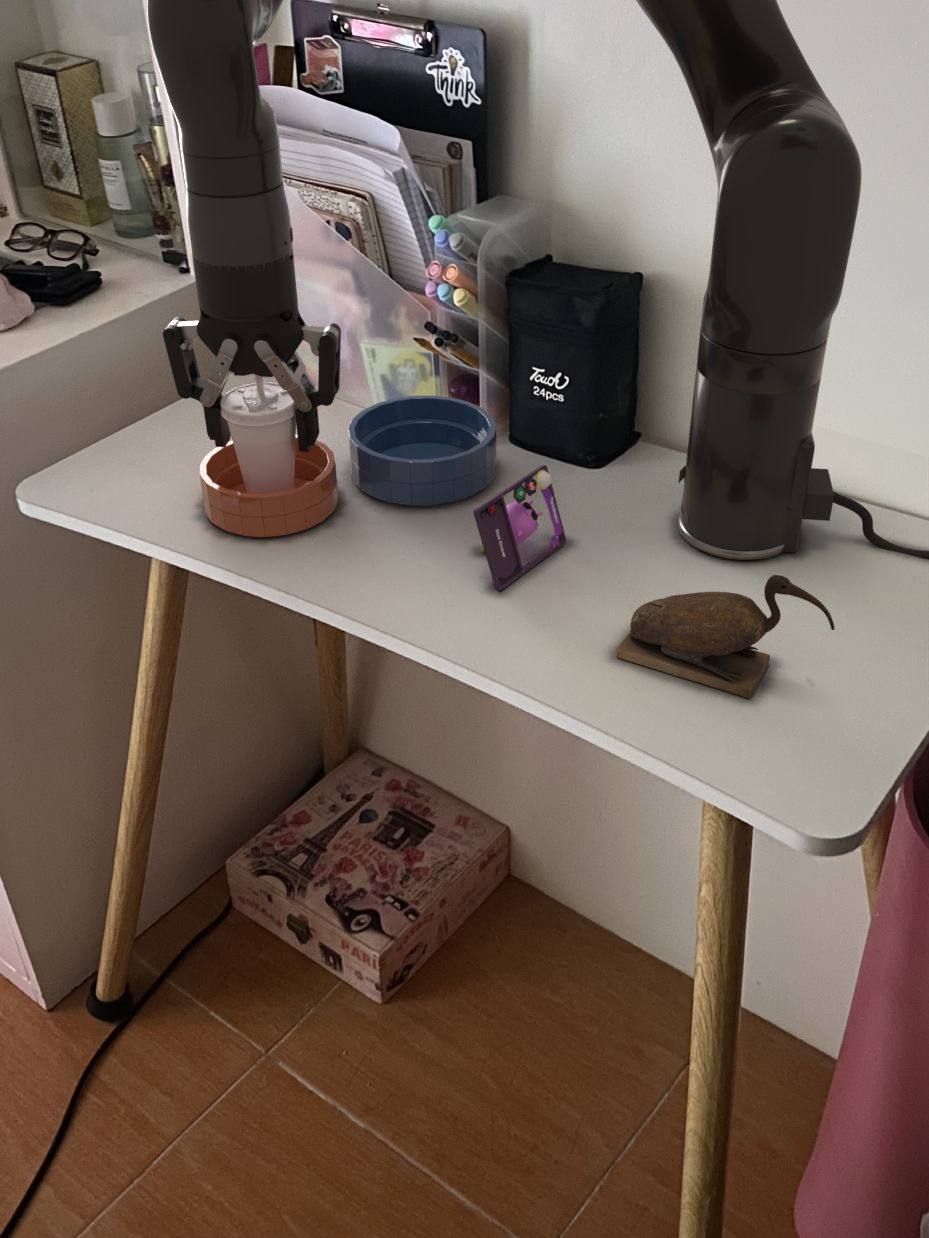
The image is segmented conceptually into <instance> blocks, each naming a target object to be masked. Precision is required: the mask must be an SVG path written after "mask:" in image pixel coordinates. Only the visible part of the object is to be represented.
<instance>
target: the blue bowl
mask: <svg viewBox="0 0 929 1238" xmlns="http://www.w3.org/2000/svg"><path fill="white" fill-rule="evenodd" d="M347 437H348V451H349V464H350V465H349V466H350V473H351V479H352V481H353V482H354V483H355V485H356V486H357V487H358V489H360V490H361V491H362V492H364V493H366V494H367V495H369V496H371V497H373V498H374V499H375V498H376V499H377V500H378V499H379V500H382V501H385V502H388V503H394V504H400V505H407V506H433V505H434V506H435V505H441V504H447V503H452V502H457V501H460V500H462V499H465V498H468V497H471V496H473V495H475V494H477V493H478V492H480V491H481V490H483V489H485V488H486V487H487V486H488V485H489V484H490V483H491V481H492V480H493V479H494V478H495V475H496V470H497V425H496V422H495V419H494V417H493V415H491V413H489V412H488V411H487V410H485V408H483V407H480V406H479V405H476V404H474V403H472V402H470V401H466V400H463V399H460V398H456V397H450V396H442V395H441V396H440V395H410V396H409V395H408V396H403V397H396V398H391V399H387V400H383V401H380V402H377V403H374V404H372V405H370V406H368V407H367V408H364V409H362V410H361V411H359V412H358V413H357V414H356V415H355V416H354V417H353V418H352V419H351V421H350V423H349V425H348V427H347Z"/></svg>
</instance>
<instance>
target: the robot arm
mask: <svg viewBox="0 0 929 1238" xmlns="http://www.w3.org/2000/svg"><path fill="white" fill-rule="evenodd" d="M146 1H147V2H146V3H147V4H146V5H147V6H146V13H147V25H148V32H149V33H148V34H149V38H150V44H151V47H152V51H153V55H154V59H155V62H156V64H157V65H156V66H157V68H158V71H159V74H160V78H161V80H162V83H163V87H164V90H165V94H166V97H167V99H168V102H169V105H170V107H171V110H172V112H173V114H174V117H175V120H176V123H177V127H178V138H179V146H180V147H179V148H180V154H181V161H182V168H183V176H184V183H185V184H184V185H185V194H186V224H187V230H188V237H189V244H190V252H191V253H190V254H191V258H192V266H193V275H194V281H195V288H196V296H197V302H198V308H199V312H200V313H199V315H200V316H199V319H198V320H187V321H186V319H185V318H184V317H183V316H175V317H174V318H173V319H172V320H171V322H170V323H169V324H168V325H167V326H166V327H165V329H164V330H163V332H162V338H163V341H164V345H165V350H166V353H167V358H168V361H169V365H170V369H171V373H172V377H173V380H174V384H175V389H176V392H177V395H178V396H179V397H180V398H181V399H183V400H188V399H192V400H196V401H198V402H199V403H200V404H201V406H202V408H203V414H204V422H205V427H206V435H207V437H208V438H209V440H210V441H214V445H215V448H216V447H226V445H227V444H228V442H229V441H231V439H232V437H231V434H230V430H229V426H228V422H227V420H226V419H224V418H223V417H222V414H221V404H220V401H221V398H222V397H223V396H224V395H223V392H224V390H225V388H226V385H227V383H228V381H229V378H230V376H231V374H232V373H233V376H234V377H235V376H238V377H245V376H249V375H254V376H255V375H258V376H262V378H273V377H274V379H275V380H276V383H279V385H280V386H281V388H282V389H283V390H286V391H287V392H288V393H289V395H290V397H291V398H292V400H293V401H294V403H295V404H296V406H297V407H298V408H297V410H296V412H295V416H296V434H297V436H298V446H299V451H300V452H309V450H310V448H311V446H312V445H313V446H314V444H315V442H316V440H317V441H318V438H319V435H320V422H319V421H320V419H319V411H318V410H319V409H318V407H320V406H324V407H329V406H331V405H332V404H333V402H334V400H335V397H336V395H337V394H338V392H339V390H340V378H341V349H342V348H341V347H342V346H341V343H342V342H341V341H342V338H341V337H342V329H341V327H340V326H339V325H338V324H337V323H334V322H332V323H329V324H327V325H326V327H325V326H318V325H317V326H316V325H309V324H306V322H305V321H304V319H303V318H302V316H301V313H300V310H299V300H298V291H297V289H298V288H297V281H296V280H297V278H296V270H295V269H296V267H295V259H294V246H293V242H294V232H293V227H292V224H291V214H290V209H289V204H288V199H287V196H286V192H285V191H286V190H285V185H284V176H283V167H282V166H283V165H282V156H281V155H282V154H281V145H280V135H279V128H278V123H277V119H276V114H275V111H274V109H273V107H272V105H271V104H270V103H269V102H268V100H266V99H265V98H263V97H262V96H261V92H260V86H259V85H260V84H259V79H258V74H257V68H256V59H255V54H254V51H255V49H254V45H255V44H257V43H258V42H259V41H260V40H261V39H262V38H263V37H264V36H265V34H267V32H268V30H269V28H270V27H271V25H272V24H273V22H274V20H275V19H276V16H277V15H278V12H279V10H280V8H281V6H282V5H283V3H284V0H146ZM635 1H636V3H637V4H638V6H639V7H640V8H641V10H642V11H643V13H644V14H645V15H646V17H647V18H648V20H649V21H650V22H651V24H652V25H653V27H654V28H655V30H656V31H657V32H658V34H659V35H660V36H661V38H662V40H663V41H664V43H665V44H666V45H667V47H668V48H669V50H670V52H671V53H672V55H673V58H674V60H675V61H676V63H677V65H678V67H679V69H680V71H681V74H682V76H683V79H684V80H685V83H686V85H687V89H688V90H689V93H690V95H691V98H692V100H693V104H694V106H695V108H696V111H697V114H698V117H699V120H700V122H701V125H702V128H703V131H704V134H705V137H706V140H707V144H708V147H709V150H710V153H711V157H712V161H713V165H714V170H715V176H716V183H717V198H716V199H717V200H716V208H715V209H716V210H715V217H714V218H715V219H714V229H713V236H712V247H711V248H712V249H711V256H710V264H709V273H708V274H709V275H708V279H707V285H706V290H705V292H704V296H703V300H702V314H701V322H700V330H699V338H698V339H699V340H698V349H697V357H696V368H695V376H694V377H695V378H694V386H693V395H692V405H691V413H690V422H689V433H688V442H687V449H686V450H687V451H686V461H685V465H684V466H683V468H681V469H680V470H679V473H678V483H677V484H678V485H679V484H680V483H681V482H682V481H683V489H682V491H683V492H682V498H681V503H680V512H679V515H678V526H677V527H678V530H679V533H680V535H681V536H682V537H683V539H684V540H685V541H686V542H687V543H688V544H690V545H691V546H693V547H694V548H696V549H698V550H700V551H702V552H704V553H706V554H708V555H712V556H716V557H720V558H724V559H730V560H740V561H741V560H743V561H753V560H761V559H768V558H771V557H774V556H777V555H779V554H782V553H794V554H795V553H797V552H798V548H799V542H800V536H801V530H802V524H803V520H805V521H806V520H807V521H808V520H809V521H827V522H830V521H831V516H832V511H833V504H835V505H838V506H840V507H843V508H845V509H847V510H849V511H851V512H853V513H855V514H856V515H857V516H858V518H860V519H861V524H862V533H863V536H864V538H865V539H866V540H867V541H868V542H870V543H871V544H872V545H874V547H875V546H876V547H877V548H879V549H883V550H886V551H890V552H895V553H899V554H903V555H908V556H911V557H916V558H920V559H924V560H929V550H923V549H922V550H921V549H914V548H909V547H904V546H901V545H897V544H895V543H893V542H891V541H888V540H886V539H885V538H883V537H882V536H880V535H879V534H878V533H876V532H875V530H874V519H873V517H872V514H871V512H870V511H869V510H868V509H867V508H866V507H865V506H864V505H862V504H861V503H859V502H858V501H857V500H854V499H852V498H850V497H848V496H845V495H843V494H841V493H838V492H836V491H834V488H833V485H832V480H831V476H830V471H829V469H828V468H813V461H814V455H815V449H816V445H815V439H814V435H813V427H814V421H815V415H816V410H817V403H818V398H819V392H820V387H821V386H820V385H821V381H822V380H821V379H822V373H823V368H824V362H825V357H826V351H827V345H828V338H829V335H830V329H831V324H832V319H833V316H834V314H835V312H836V310H837V308H838V306H839V303H840V300H841V297H842V294H843V290H844V289H843V288H844V282H845V277H846V274H847V268H848V263H849V258H850V253H851V248H852V242H853V239H854V234H855V233H854V232H855V227H856V221H857V216H858V211H859V204H860V197H861V190H862V174H863V173H862V163H861V158H860V154H859V151H858V149H857V146H856V143H855V141H854V140H853V137H852V136H851V133H850V132H849V129H848V128H847V126H846V123H845V122H844V120H843V118H842V117H841V115H840V113H839V112H838V110H837V109H836V108H835V107H834V105H833V104H832V102H831V101H830V100H829V98H828V97H827V95H826V93H825V91H824V90H823V88H822V87H821V85H820V83H819V81H818V79H817V78H816V76H815V74H814V73H813V70H812V69H811V67H810V65H809V63H808V62H807V60H806V58H805V55H804V54H803V52H802V51H801V49H800V47H799V45H798V42H797V41H796V39H795V37H794V36H793V34H792V32H791V30H790V28H789V26H788V24H787V21H786V19H785V17H784V14H783V13H782V10H781V8H780V6H779V3H778V0H635ZM198 337H199V339H200V340H201V341H202V342H203V344H204V345H205V346H206V347H207V349H208V350H209V351H210V352H211V353H212V354H213V355H214V357H215V360H214V362H213V365H212V367H211V369H210V371H209V373H208V376H207V379H204V378H201V374H200V371H199V366H198V362H197V358H196V354H195V350H194V347H195V346H196V345H197V342H198ZM303 341H304V342H306V343H308V344H309V346H310V351H311V353H312V355H314V356H316V357H318V383H317V384H316V385H315V383H314V382H313V380H312V378H311V377H310V376H309V374H308V372H307V367H306V364H305V363H304V361H303V360H302V358H301V357H300V355H299V353H298V352H297V350H298V349H299V347H300V345H301V344H302V342H303Z"/></svg>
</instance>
